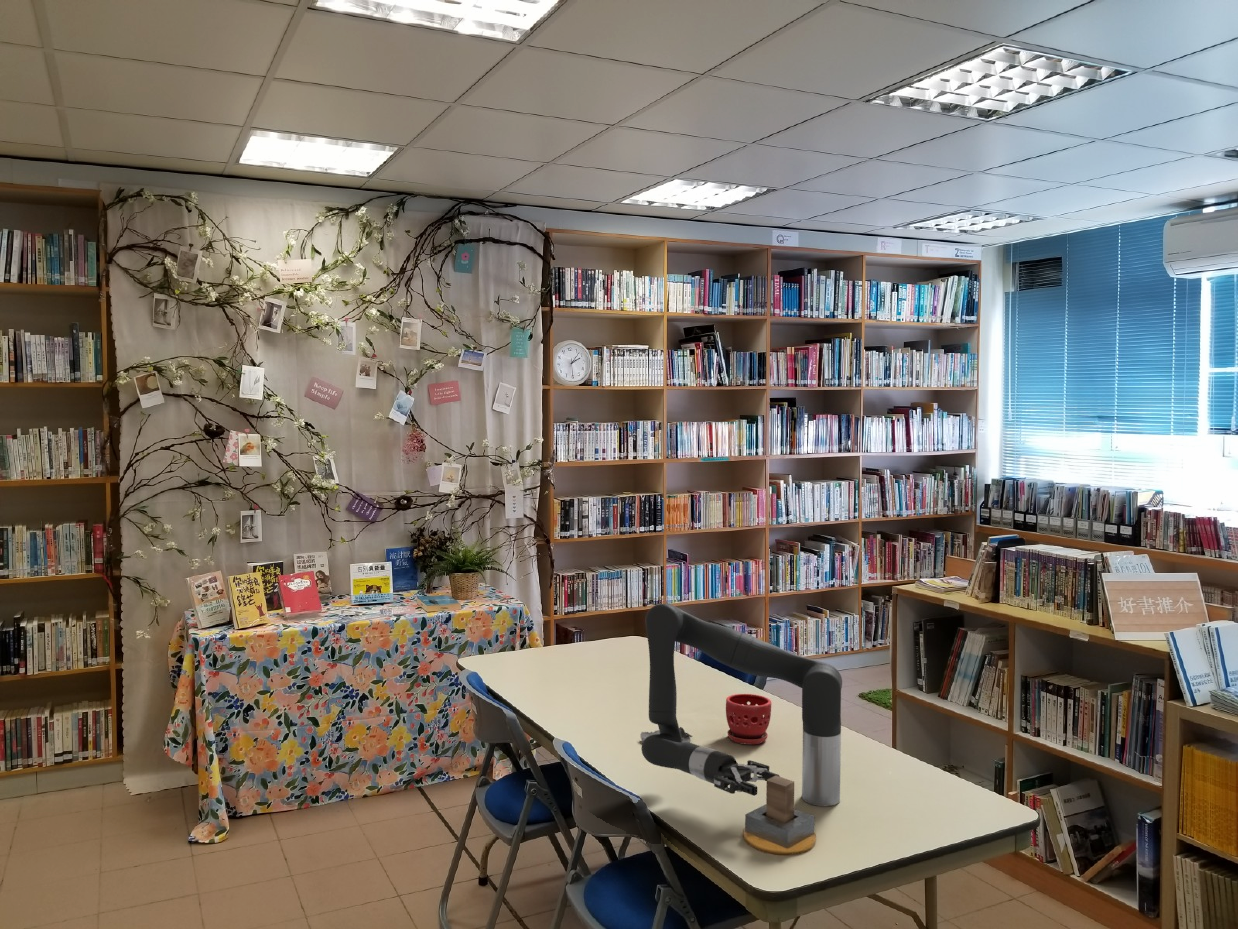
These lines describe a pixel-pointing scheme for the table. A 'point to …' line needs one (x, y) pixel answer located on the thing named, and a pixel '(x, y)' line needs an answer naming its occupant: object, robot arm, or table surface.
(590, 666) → the table surface
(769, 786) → the brown wooden block
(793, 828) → the grey socket block
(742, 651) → the robot arm
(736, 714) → the plant pot
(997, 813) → the table surface
